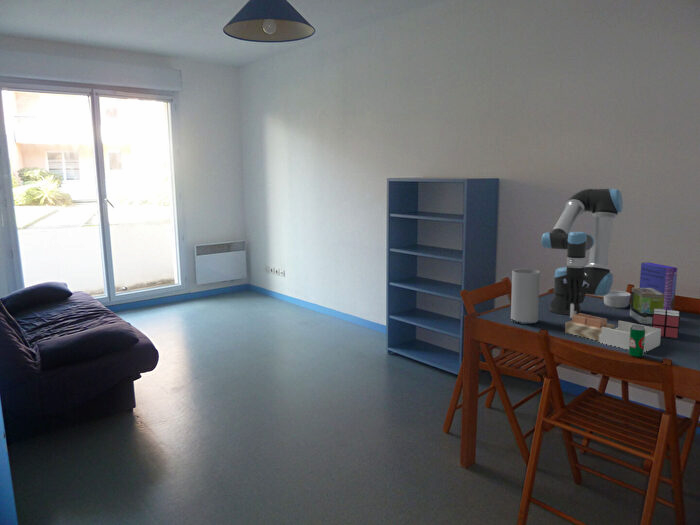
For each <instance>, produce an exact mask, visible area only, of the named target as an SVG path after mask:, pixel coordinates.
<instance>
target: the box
mask: <svg viewBox="0 0 700 525" xmlns="http://www.w3.org/2000/svg"><path fill="white" fill-rule="evenodd" d="M617 323H618V325H617V327H614V329H610V328H605V327H602V331H601V334H600V335H599V341H598V343H599V342H600V343H599V344H602V343H603V344H602V345H606V344H607V345H606V346H610V345H612V346H611V347H614V346H616V347H615V348H618V347H620V348H619V349H622V348H623V350H626V349H628V350H627V351H629V341H630V328H631V327H632V325H642V326H644V328H645V341H644V352H645V353H647V352H649V351H651V350H653V349H655V348H657V347H660V345H661V338H662V337H661V329H659V328H654V327H652V326H650V325H649V326H648V325H645V324H641V323H639V324H638V323H636V322H635V323H634V322H629V321H623V320H618V322H617ZM646 351H647V352H646Z"/></svg>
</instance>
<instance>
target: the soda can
mask: <svg viewBox="0 0 700 525" xmlns="http://www.w3.org/2000/svg"><path fill="white" fill-rule="evenodd" d="M642 325H643V324H640V325H632V327H631V328H630V341H629V350H628V354H629V356H630V355H631V357H633V356H635V357H634V358H642V357H643V356H644V354H645V353H644V341H645V328H644V326H642Z"/></svg>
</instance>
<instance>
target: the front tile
mask: <svg viewBox="0 0 700 525" xmlns="http://www.w3.org/2000/svg"><path fill="white" fill-rule="evenodd" d="M591 316H592V317H589V318H587V321H586V325H588V326H593V327H597V328H601V327H604V326H606V325H607V324H608V318H605V317H600V316H595V315H591Z"/></svg>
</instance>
